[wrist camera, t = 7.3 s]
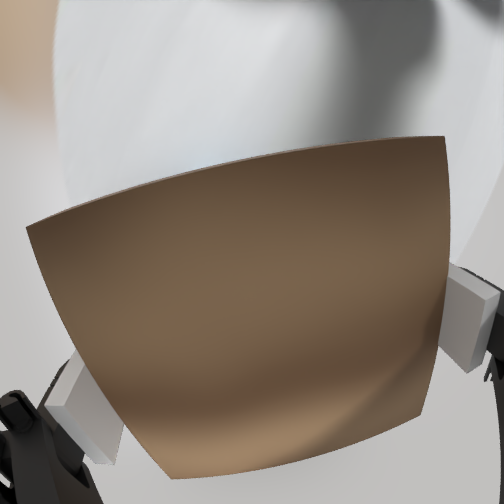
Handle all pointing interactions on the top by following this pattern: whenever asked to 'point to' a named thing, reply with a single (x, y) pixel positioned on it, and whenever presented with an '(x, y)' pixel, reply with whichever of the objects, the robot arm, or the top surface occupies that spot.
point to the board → (260, 300)
